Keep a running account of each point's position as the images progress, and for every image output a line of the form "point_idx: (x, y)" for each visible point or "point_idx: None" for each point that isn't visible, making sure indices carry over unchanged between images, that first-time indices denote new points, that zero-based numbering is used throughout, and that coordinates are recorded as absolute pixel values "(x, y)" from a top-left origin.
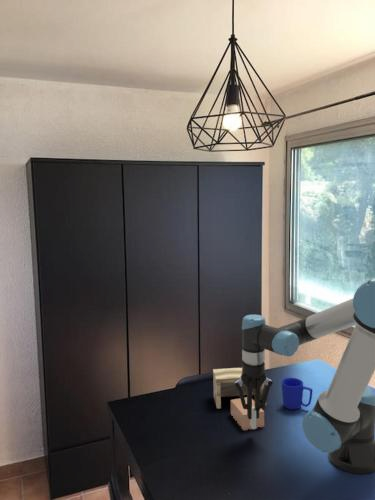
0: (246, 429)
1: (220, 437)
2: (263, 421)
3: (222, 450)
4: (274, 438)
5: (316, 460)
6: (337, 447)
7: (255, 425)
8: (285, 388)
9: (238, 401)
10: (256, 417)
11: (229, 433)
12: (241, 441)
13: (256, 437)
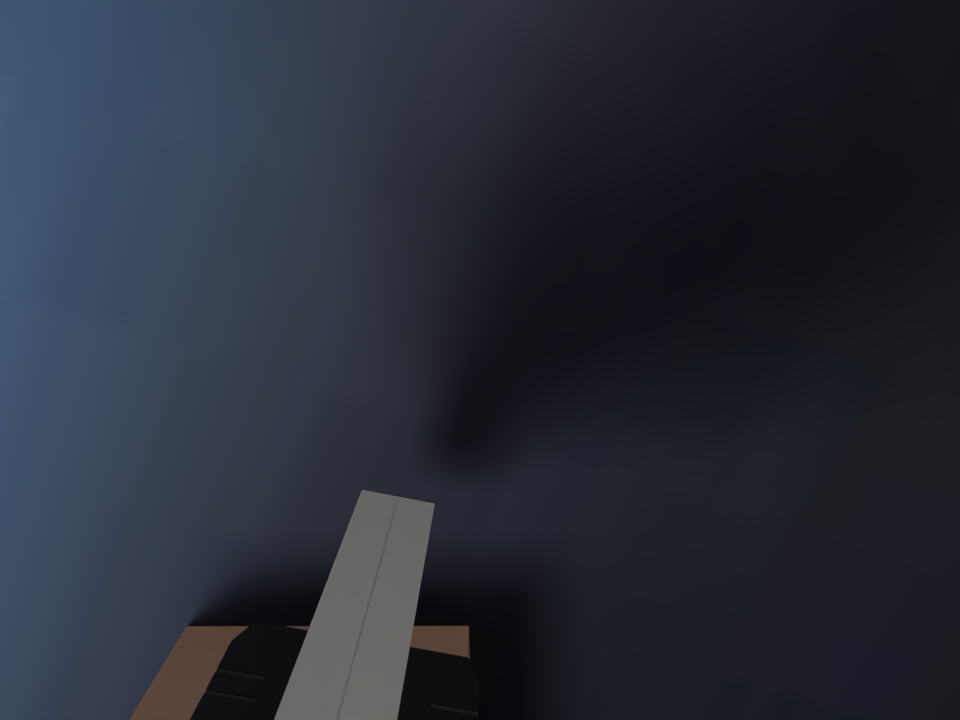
0: (428, 630)
1: (810, 579)
2: (164, 679)
3: (941, 314)
4: (139, 358)
5: None
6: None
7: (361, 526)
8: None
9: None
10: (293, 646)
11: (663, 620)
12: (598, 426)
13: (369, 449)
